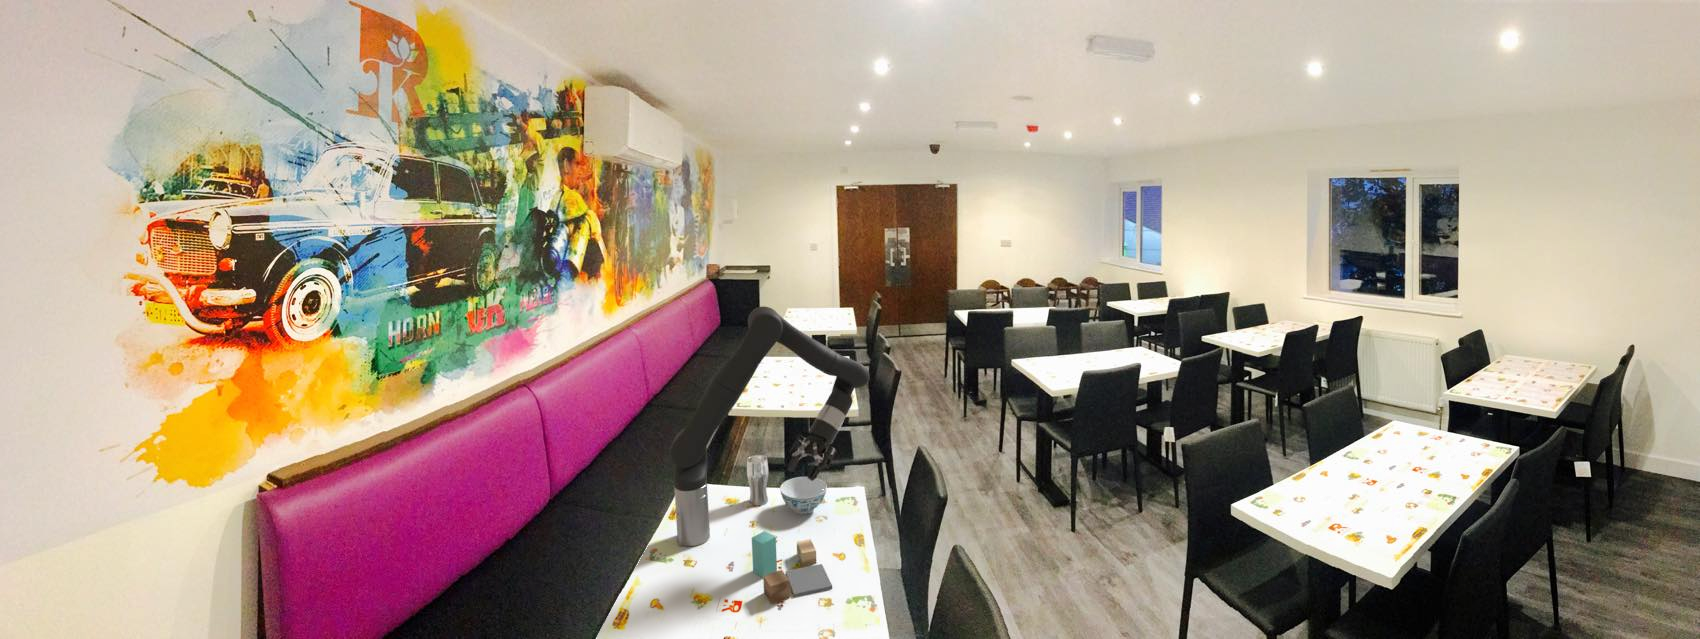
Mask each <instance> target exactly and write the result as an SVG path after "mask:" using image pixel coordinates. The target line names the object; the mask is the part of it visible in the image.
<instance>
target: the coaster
mask: <svg viewBox="0 0 1700 639" xmlns="http://www.w3.org/2000/svg"><path fill="white" fill-rule="evenodd" d="M785 575H786V576H787V578H788V579H789V586H790V589H791V590H790V591H791V592H792V595H793V597H795V598H796V597H800V596H804V595H808V594H813V593H819V592H823V591H827V590H832V589H833V584H832V582H831V580H830V578H829V576H828V574H827V572H826V570H825V568H824V566H823V564H822V563H819V564H813V565H810V566H809V565H808V566H803V567H801V568H794V569H791V570H790V569H789V570H785Z"/></svg>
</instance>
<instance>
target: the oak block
mask: <svg viewBox="0 0 1700 639" xmlns="http://www.w3.org/2000/svg"><path fill="white" fill-rule="evenodd" d="M796 555H797V557H798V560H799V562H800V564H801V567H807V566H809V565H810V566H812V565H816V564H817V549H816V547H815V545H814V544H813V541H812V540H811V538H809V539H805V540H798V541H796Z"/></svg>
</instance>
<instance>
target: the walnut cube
mask: <svg viewBox="0 0 1700 639" xmlns="http://www.w3.org/2000/svg"><path fill="white" fill-rule="evenodd" d="M762 580H763V594H764V595H765V597H766V598H767V600H768V602H769V603H770V605H773V604H776V603H780V602H782V601H785V600H787V599H791V597H790V596H791V590H790V589H791V587H790V584H789V579H788V578H787V576H786V573H785V572H784V571H783V569H780V570H777V571H776V572H773V573H770V574H766V575H763V578H762Z"/></svg>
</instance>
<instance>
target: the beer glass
mask: <svg viewBox="0 0 1700 639" xmlns="http://www.w3.org/2000/svg"><path fill="white" fill-rule="evenodd" d="M746 475H747V482H748V485H749V490H750V491H749V492H750V493H749V494H750V495H749V504H750V505H751V506H755V505H756V506H757V507H759V506H758V505H760V506H764V505H765V504H767V503H768V502H769V498H768V494H767V487H768V486H767V485H768V480H769V464H768V457H767V456H765V455H762V454H756V455H755V454H754V455H752V456H749V457H747V460H746Z"/></svg>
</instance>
